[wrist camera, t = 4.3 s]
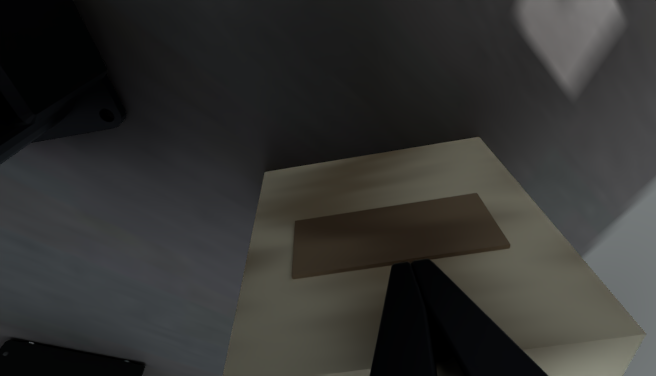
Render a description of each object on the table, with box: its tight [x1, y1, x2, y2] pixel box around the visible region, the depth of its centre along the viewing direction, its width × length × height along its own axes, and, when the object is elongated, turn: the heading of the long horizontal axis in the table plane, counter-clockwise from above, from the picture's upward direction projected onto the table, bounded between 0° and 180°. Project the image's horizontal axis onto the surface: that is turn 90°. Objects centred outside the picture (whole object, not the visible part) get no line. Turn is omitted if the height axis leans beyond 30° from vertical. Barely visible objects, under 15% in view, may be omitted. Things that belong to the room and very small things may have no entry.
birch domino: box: [223, 137, 646, 376], centre depth 12 cm, size 9×3×9 cm, turn 99°
